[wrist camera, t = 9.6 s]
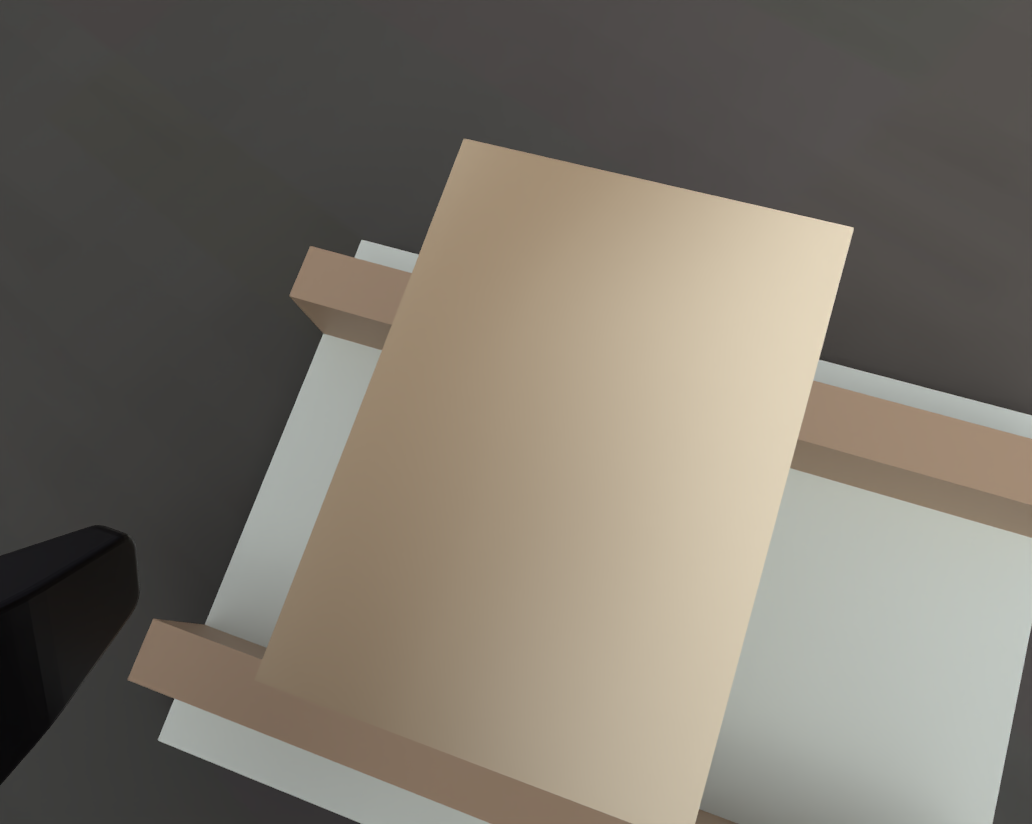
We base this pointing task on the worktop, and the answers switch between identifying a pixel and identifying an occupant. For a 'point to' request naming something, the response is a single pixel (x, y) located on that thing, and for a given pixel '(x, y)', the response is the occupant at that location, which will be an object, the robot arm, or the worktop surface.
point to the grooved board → (769, 637)
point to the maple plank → (566, 480)
